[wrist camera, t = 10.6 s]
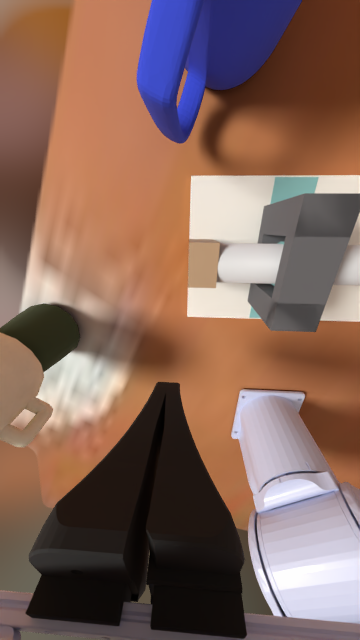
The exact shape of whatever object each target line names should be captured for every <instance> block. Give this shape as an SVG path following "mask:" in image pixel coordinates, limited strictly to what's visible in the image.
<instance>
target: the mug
mask: <svg viewBox="0 0 360 640" xmlns="http://www.w3.org/2000/svg"><path fill="white" fill-rule="evenodd" d="M301 2H302V0H152V3H151V7H150V11H149V16H148V20H147V24H146V28H145V33H144V38H143V43H142V48H141V53H140V58H139V64H138V71H137V85H138V89H139V92H140V94H141V97H142V99H143V101H144V103H145V105H146V107H147V109H148V111H149V113H150V115H151V117H152V119H153V120H154V122H155V124H156V125H157V127H158V128H159V130H160V131H161V132H162V133H163V134H164V135H165V136H166V137H167V138H169V139H170V140H172V141H174V142H176V143H184V142H185V141H186V140H187V139H188V137H189V135H190V133H191V131H192V129H193V126H194V123H195V121H196V118H197V115H198V112H199V109H200V105H201V102H202V99H203V95H204V91H205V87H208V88H211V89H215V90H226V89H230V88H234V87H236V86H238V85H240V84H242V83H244V82H245V81H247V80H248V79H249V78H250V77H252V76H253V75H254V74H255V73H256V72H257V71H258V70H259V69H260V68H261V66H262V65H263V64H264V63H265V62H266V60H267V59H268V58H269V56H270V55H271V53H272V52H273V50H274V49H275V47H276V45H277V44H278V42H279V40H280V38H281V37H282V35H283V33H284V32H285V30H286V28H287V26H288V25H289V23H290V21H291V19H292V17H293V16H294V14H295V12H296V10H297V9H298V7H299V5H300V3H301ZM184 68H185V69H186V70H187V71H188V74H187V79H186V82H185V86H184V89H183V93H182V96H181V99H180V102H179V106H178V108H177V106H176V101H177V94H178V90H179V86H180V82H181V79H182V75H183V71H184Z"/></svg>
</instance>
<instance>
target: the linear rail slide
mask: <svg viewBox="0 0 360 640" xmlns="http://www.w3.org/2000/svg"><path fill="white" fill-rule="evenodd" d="M305 193H360V175H319V176H191V202H190V238H189V263H188V309H187V317H218V318H252V319H261V317H260V316H259V315H258V314H257V312H256V311H255V310H254V309H253V307H252V306H251V305H250V304H249V302H248V295H249V289H250V284H251V283H265V284H272V285H273V286H274V285H275V281H276V277H277V272H278V268H279V264H280V259H281V255H282V251H283V246H284V242H279V243H277V244H257V243H258V238H259V232H260V226H261V220H262V215H263V209H264V206H266V205H270V204H273V203H276V202H279V201H282V200H285V199H289V198H292V197H295V196H298V195H301V194H305ZM320 320H321V321H355V322H360V213H359V216H358V218H357V221H356V224H355V226H354V229H353V232H352V235H351V237H350V240H349V243H348V245H347V248H346V251H345V254H344V256H343V259H342V262H341V264H340V267H339V270H338V273H337V275H336V278H335V281H334V284H333V286H332V289H331V292H330V294H329V297H328V300H327V303H326V305H325V308H324V311H323V313H322V316H321V319H320Z"/></svg>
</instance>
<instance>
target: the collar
mask: <svg viewBox="0 0 360 640" xmlns="http://www.w3.org/2000/svg"><path fill="white" fill-rule="evenodd" d="M359 213H360V193H305V194H301V195H298V196H295V197H292V198H289V199H285V200H282V201H279V202H276V203H273V204H270V205H266V206H264V209H263V215H262V220H261V226H260V232H259V238H258V243H257V244H277V243H279V242H284V246H283V251H282V255H281V259H280V264H279V268H278V272H277V277H276V281H275V285H274V286H273V285H272V284H265V283H251V284H250V289H249V295H248V302H249V304H250V305H251V306H252V307H253V309H254V310H255V311H256V312H257V314H258V315H259V316H260V317H261V319H262V320H263V321H264V323H265V324H266V325H267V326H268V328H269V329H270V330H272V331H303V332H316V330H317V327H318V324H319V322H320V319H321V316H322V313H323V311H324V308H325V305H326V303H327V300H328V297H329V294H330V292H331V289H332V286H333V284H334V281H335V278H336V275H337V273H338V270H339V267H340V264H341V262H342V259H343V256H344V254H345V251H346V248H347V245H348V243H349V240H350V237H351V235H352V232H353V229H354V226H355V224H356V221H357V218H358V216H359Z"/></svg>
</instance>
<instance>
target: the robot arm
mask: <svg viewBox="0 0 360 640" xmlns="http://www.w3.org/2000/svg"><path fill="white" fill-rule="evenodd" d="M304 398H305V395H304V393H303V392H293V391H271V390H248V389H243V390H241V391H240V393H239V398H238V403H237V408H236V413H235V418H234V423H233V428H232V433H231V435H232V438H234V439H239V442H240V446H241V451H242V455H243V459H244V464H245V468H246V472H247V477H248V481H249V484H250V487H251V490H252V492H253V494H254V495H253V499H254V503H255V507H256V509H254V510H253V511H252V512H251V514H250V518H249V528H248V540H249V548H250V554H251V559H252V563H253V567H254V570H255V574H256V577H257V580H258V582H259V585H260V588H261V590H262V593H263V595H264V597H265V599H266V601H267V603H268V605H269V606H270V608H271V610H272V612H273V614H274V616H270V615H260V614H249V613H244V610H243V602H242V595H241V593H242V583H241V577H240V571H241V568H242V566H243V564H244V553H243V549H242V545H241V542H240V538H239V535H238V532H237V530H236V527H235V524H234V521H233V519H232V516H231V513H230V512H229V510H228V508H227V506H226V505H225V503H224V501H223V500H222V498H221V496H220V494H219V492H218V491H217V489H216V487H215V485H214V483H213V481H212V479H211V478H210V475H209V473H208V471H207V469H206V467H205V465H204V463H203V461H202V459H201V457H200V455H199V452H198V450H197V448H196V445H195V443H194V440H193V438H192V435H191V432H190V430H189V427H188V424H187V421H186V417H185V414H184V410H183V406H182V402H181V396H180V384H179V383H169V382H158V383H156V386H155V388H154V390H153V392H152V394H151V396H150V397H149V399H148V401H147V403H146V404H145V406H144V407H143V409H142V411H141V412H140V414H139V415H138V417H137V418H136V419H135V421H134V422H133V424H132V425H131V427H130V428H129V429H128V431H127V432H126V433H125V434H124V436H123V437H122V438H121V439H120V441H119V442H118V443H117V444H116V445H115V446H114V447H113V449H112V450H111V451H110V452H109V453H108V454H107V455H106V456H105V458H104V459H103V460H102V461H101V462H100V463H99V464H98V465H97V466H96V467H95V468H94V469H93V470H92V471H91V472H90V473H89V474H88V475H87V476H86V477H85V478H84V479H83V480H82V481H81V482H80V483H78V484H77V485H76V486H75V487H74V488H73V489H72V490H71V491H70V492H68V493H67V494H66V495H65V496H64V497H63V498H62V499H61V500H60V501H58V502H57V504H56V505H55V507H54V508H53V510H52V512H51V513H50V515H49V517H48V519H47V520H46V522H45V524H44V525H43V527H42V529H41V531H40V534H39V535H38V537H37V540H36V542H35V543H34V545H33V548H32V550H31V552H30V553H29V561H30V563H31V564H32V565H33V566H34V567H35V568H36V569H37V570H38V571H39V572H40V573H41V574H42V576H41V578H40V581H39V583H38V585H37V587H36V590H35V592H34V593H24V592H14V591H3V590H0V640H21V634H20V631H25V632H35V633H45V634H54V635H64V636H74V637H84V638H94V639H104V640H360V489H358V488H356V487H354V486H352V485H351V484H350V483H348V482H344V483H340V482H339V481H338V480H337V478H336V477H335V475H334V473H333V471H332V470H331V468H330V466H329V465H328V463H327V461H326V459H325V458H324V456H323V454H322V453H321V451H320V449H319V448H318V446H317V444H316V442H315V441H314V439H313V437H312V436H311V434H310V432H309V430H308V429H307V427H306V425H305V424H304V422H303V420H302V419H301V417H300V415H299V410H300V408H301V405H302V403H303V400H304ZM149 550H150V556H149ZM148 556H149V557H148ZM148 558H149V564H148ZM147 568H148V572H147ZM146 578H147V580H146ZM146 584H147V585H149V588H150V593H151V604H141V603H131V601H134V602H138V599H139V598H140V597H141V595H142V594H143V592H144V591H145V587H146Z"/></svg>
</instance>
